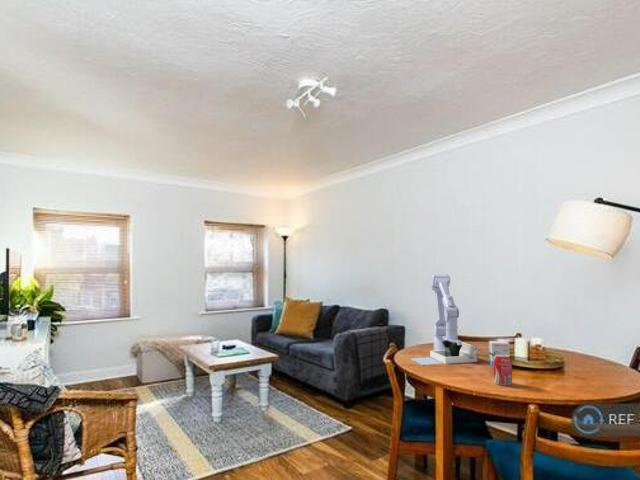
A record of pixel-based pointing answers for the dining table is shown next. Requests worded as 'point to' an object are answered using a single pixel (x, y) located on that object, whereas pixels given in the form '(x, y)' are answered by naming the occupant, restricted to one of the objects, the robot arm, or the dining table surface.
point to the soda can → (502, 369)
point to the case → (465, 355)
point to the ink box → (497, 349)
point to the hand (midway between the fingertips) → (452, 356)
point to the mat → (425, 361)
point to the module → (449, 352)
